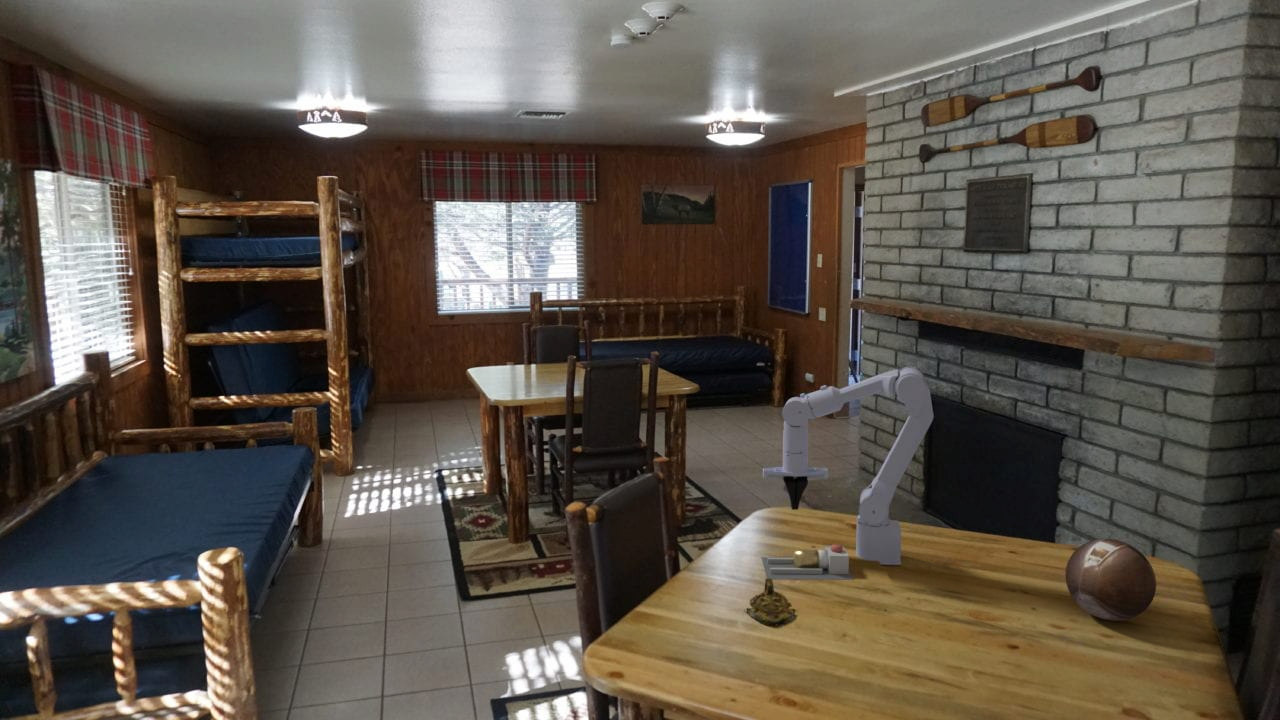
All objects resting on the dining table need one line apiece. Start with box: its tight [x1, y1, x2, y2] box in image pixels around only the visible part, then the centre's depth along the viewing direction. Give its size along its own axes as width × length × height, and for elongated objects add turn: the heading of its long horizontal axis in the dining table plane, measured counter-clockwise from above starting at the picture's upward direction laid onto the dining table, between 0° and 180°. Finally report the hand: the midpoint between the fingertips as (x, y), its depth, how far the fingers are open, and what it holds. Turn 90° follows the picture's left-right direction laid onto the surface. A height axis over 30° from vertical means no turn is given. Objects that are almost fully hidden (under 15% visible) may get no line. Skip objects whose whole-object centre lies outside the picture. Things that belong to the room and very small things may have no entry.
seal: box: [746, 577, 796, 627], centre depth 166 cm, size 9×5×15 cm
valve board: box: [761, 543, 854, 581], centre depth 183 cm, size 18×12×6 cm, turn 87°
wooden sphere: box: [1065, 538, 1157, 622], centre depth 161 cm, size 15×15×15 cm
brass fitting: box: [792, 549, 819, 568], centre depth 183 cm, size 5×4×4 cm
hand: (794, 508), depth 194 cm, fingers closed
